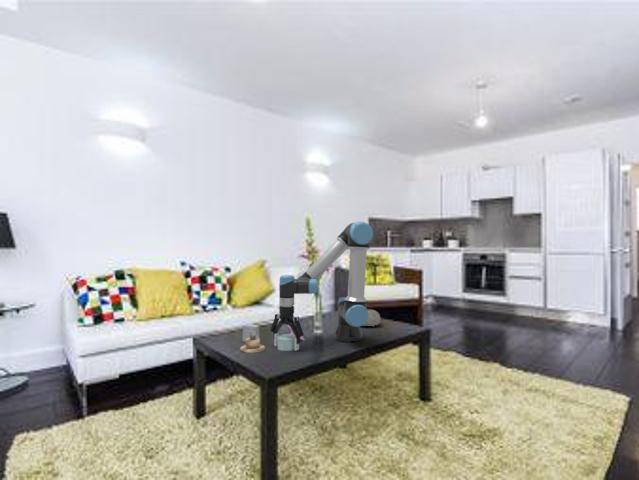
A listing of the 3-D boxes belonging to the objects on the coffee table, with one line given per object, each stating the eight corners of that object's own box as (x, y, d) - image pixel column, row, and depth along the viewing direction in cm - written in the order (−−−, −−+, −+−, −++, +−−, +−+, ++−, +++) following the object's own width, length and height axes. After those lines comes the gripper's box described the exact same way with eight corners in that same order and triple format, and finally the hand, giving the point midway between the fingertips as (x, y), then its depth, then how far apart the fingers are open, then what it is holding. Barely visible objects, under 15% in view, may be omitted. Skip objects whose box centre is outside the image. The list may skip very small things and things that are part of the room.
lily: (286, 346, 194) (295, 331, 193) (277, 333, 203) (285, 319, 202) (303, 349, 202) (311, 335, 200) (293, 336, 211) (301, 322, 210)
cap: (299, 347, 189) (299, 335, 189) (288, 351, 182) (288, 339, 182) (285, 344, 194) (285, 333, 194) (274, 348, 186) (274, 337, 186)
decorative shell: (353, 328, 231) (353, 312, 231) (352, 322, 248) (352, 307, 248) (382, 328, 230) (382, 312, 230) (378, 322, 248) (378, 307, 248)
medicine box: (259, 341, 201) (259, 325, 201) (255, 343, 197) (255, 326, 197) (246, 339, 203) (246, 324, 203) (242, 342, 199) (242, 325, 199)
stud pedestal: (269, 348, 187) (269, 330, 187) (253, 354, 177) (253, 335, 177) (252, 344, 194) (252, 327, 194) (235, 350, 184) (235, 332, 184)
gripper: (263, 304, 191) (263, 345, 191) (301, 309, 178) (301, 353, 178) (273, 302, 198) (272, 342, 198) (310, 307, 184) (310, 350, 184)
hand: (286, 347), depth 188 cm, fingers open, 12 cm apart
